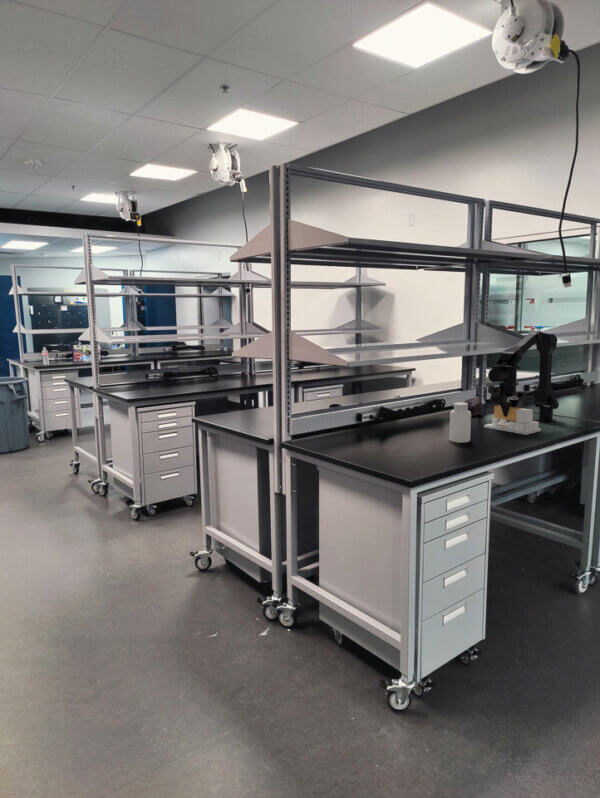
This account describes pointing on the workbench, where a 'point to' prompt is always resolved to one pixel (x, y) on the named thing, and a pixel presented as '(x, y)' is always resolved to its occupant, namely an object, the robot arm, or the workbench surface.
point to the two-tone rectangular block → (514, 414)
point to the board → (514, 426)
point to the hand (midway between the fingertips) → (507, 416)
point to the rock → (473, 405)
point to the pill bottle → (460, 423)
